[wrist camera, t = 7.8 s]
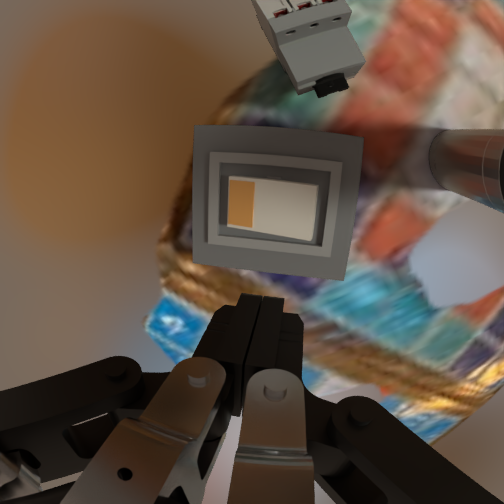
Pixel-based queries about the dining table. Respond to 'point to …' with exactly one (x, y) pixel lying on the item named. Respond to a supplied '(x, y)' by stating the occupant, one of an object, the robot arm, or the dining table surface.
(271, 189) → the breaker rocker
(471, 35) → the dining table surface
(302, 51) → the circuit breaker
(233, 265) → the box
